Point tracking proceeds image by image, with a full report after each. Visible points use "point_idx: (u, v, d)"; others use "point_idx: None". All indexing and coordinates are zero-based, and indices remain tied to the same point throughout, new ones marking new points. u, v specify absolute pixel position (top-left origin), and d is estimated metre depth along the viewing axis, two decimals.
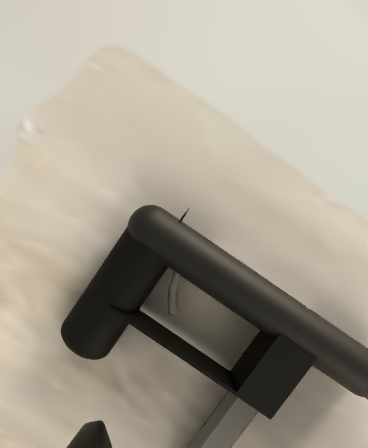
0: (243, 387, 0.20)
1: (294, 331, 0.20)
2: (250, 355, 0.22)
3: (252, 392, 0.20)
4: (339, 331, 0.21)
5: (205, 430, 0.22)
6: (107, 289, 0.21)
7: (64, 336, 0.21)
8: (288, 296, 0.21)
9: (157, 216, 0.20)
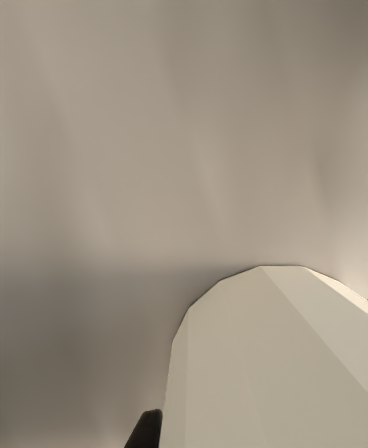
0: None
1: None
2: None
3: None
4: None
5: None
6: None
7: None
8: None
9: None
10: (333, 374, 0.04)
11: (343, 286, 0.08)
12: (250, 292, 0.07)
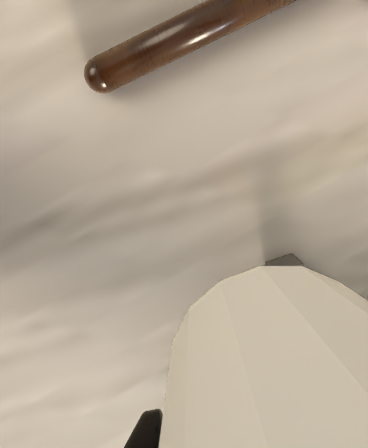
0: None
1: None
2: None
3: None
4: None
5: None
6: None
7: None
8: None
9: None
10: (333, 374, 0.04)
11: (343, 286, 0.08)
12: (250, 292, 0.07)
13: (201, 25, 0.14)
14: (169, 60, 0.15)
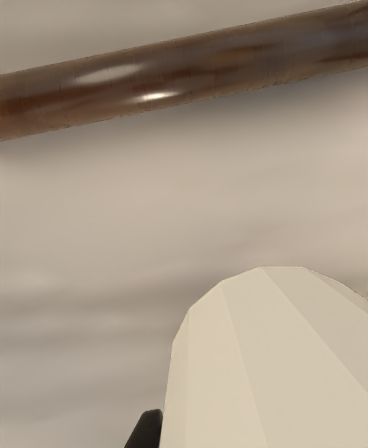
0: None
1: None
2: None
3: None
4: None
5: None
6: None
7: None
8: None
9: None
10: (334, 375, 0.04)
11: (344, 286, 0.08)
12: (251, 292, 0.07)
13: (139, 82, 0.08)
14: (80, 122, 0.09)
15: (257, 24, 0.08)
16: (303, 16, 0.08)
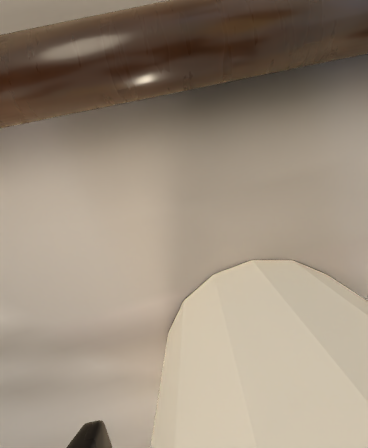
0: None
1: None
2: None
3: None
4: None
5: None
6: None
7: None
8: None
9: None
10: (313, 355, 0.04)
11: (331, 279, 0.08)
12: (241, 284, 0.07)
13: (119, 59, 0.06)
14: (40, 116, 0.06)
15: None
16: None
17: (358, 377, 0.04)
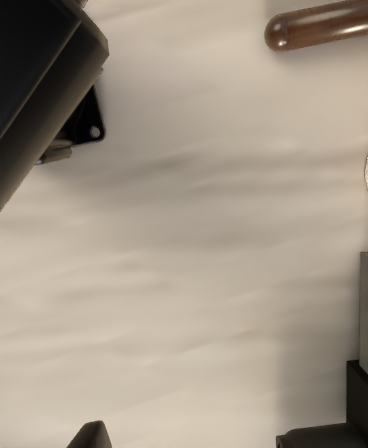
0: None
1: None
2: None
3: None
4: None
5: None
6: None
7: None
8: None
9: None
10: None
11: None
12: None
13: None
14: (348, 36, 0.16)
15: None
16: None
17: None
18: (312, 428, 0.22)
